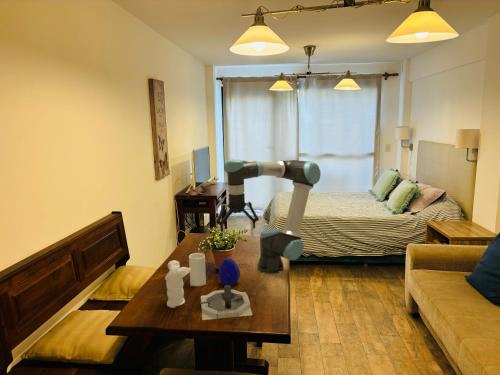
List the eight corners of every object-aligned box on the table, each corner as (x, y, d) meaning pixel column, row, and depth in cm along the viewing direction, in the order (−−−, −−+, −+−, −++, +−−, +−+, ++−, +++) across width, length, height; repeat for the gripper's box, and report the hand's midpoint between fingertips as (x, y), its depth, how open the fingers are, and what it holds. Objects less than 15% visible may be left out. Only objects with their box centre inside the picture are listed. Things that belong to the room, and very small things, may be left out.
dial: (205, 299, 175) (204, 276, 172) (237, 294, 179) (237, 271, 177) (211, 316, 159) (210, 291, 157) (246, 310, 164) (246, 285, 162)
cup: (203, 288, 188) (201, 259, 185) (188, 287, 190) (186, 258, 187) (208, 281, 196) (206, 253, 193) (193, 280, 198) (192, 252, 195)
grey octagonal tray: (245, 293, 182) (245, 287, 181) (252, 318, 160) (252, 311, 159) (199, 297, 178) (199, 291, 178) (200, 323, 156) (200, 316, 156)
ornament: (242, 283, 193) (241, 256, 190) (234, 290, 185) (233, 263, 182) (224, 279, 198) (223, 253, 195) (215, 286, 190) (214, 259, 187)
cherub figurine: (170, 298, 179) (167, 255, 175) (195, 298, 178) (193, 255, 175) (163, 310, 167) (160, 265, 163) (190, 310, 166) (188, 265, 163)
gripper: (210, 196, 164) (212, 241, 168) (264, 192, 168) (265, 236, 173) (209, 193, 171) (211, 236, 176) (260, 189, 176) (261, 231, 180)
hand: (238, 236), depth 174 cm, fingers open, 13 cm apart
